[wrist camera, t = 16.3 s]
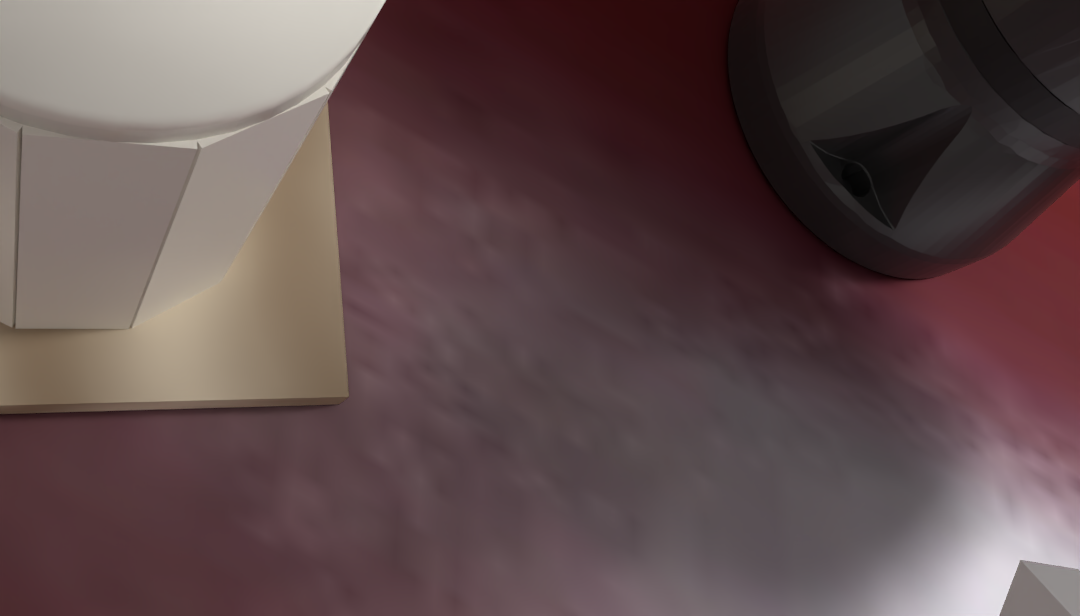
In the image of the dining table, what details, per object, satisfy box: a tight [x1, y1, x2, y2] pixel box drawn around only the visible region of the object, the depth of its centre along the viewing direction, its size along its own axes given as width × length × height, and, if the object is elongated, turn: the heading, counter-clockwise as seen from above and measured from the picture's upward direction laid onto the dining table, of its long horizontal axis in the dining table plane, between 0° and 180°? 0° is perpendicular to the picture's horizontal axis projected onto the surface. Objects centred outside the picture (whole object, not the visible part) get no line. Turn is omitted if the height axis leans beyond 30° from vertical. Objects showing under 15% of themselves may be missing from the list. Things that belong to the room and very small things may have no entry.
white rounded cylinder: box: [0, 0, 386, 329], centre depth 22 cm, size 10×10×12 cm
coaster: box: [0, 101, 349, 414], centre depth 27 cm, size 14×14×1 cm
